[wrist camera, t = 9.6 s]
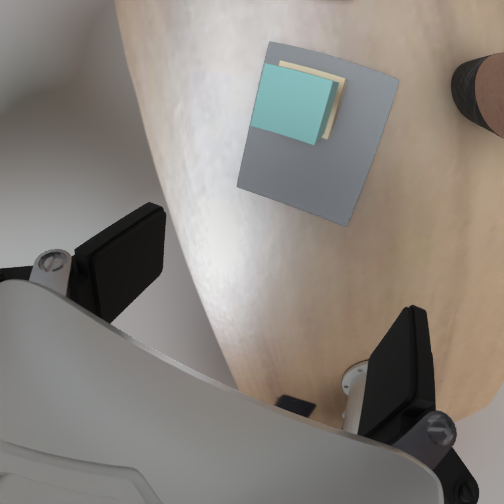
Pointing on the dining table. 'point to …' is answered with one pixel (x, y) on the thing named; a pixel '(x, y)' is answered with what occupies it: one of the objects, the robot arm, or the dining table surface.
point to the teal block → (293, 103)
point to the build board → (321, 142)
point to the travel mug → (481, 91)
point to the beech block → (337, 98)
